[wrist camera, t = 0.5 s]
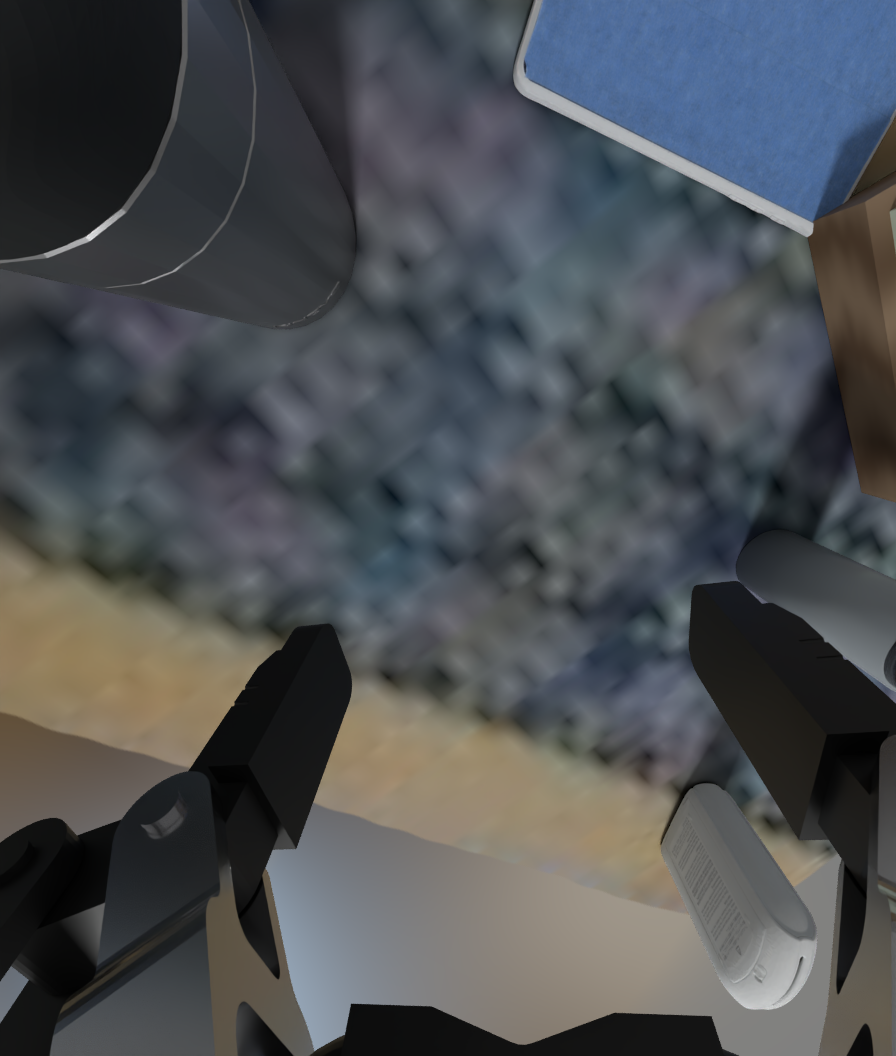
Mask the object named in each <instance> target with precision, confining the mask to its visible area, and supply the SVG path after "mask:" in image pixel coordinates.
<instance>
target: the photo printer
mask: <svg viewBox="0 0 896 1056" xmlns="http://www.w3.org/2000/svg"><path fill="white" fill-rule="evenodd" d="M661 853H662V856H663V859H664V861H665V863H666V865H667V867H668V870H669V872H670V874H671V876H672V878H673V880H674V882H675V884H676V887H677V889H678V891H679V893H680V895H681V897H682V900H683V902H684V904H685V906H686V908H687V910H688V913H689V915H690V917H691V919H692V921H693V923H694V925H695V928H696V930H697V932H698V934H699V936H700V938H701V941H702V943H703V945H704V947H705V949H706V951H707V953H708V956H709V958H710V960H711V962H712V964H713V966H714V969H715V971H716V973H717V975H718V977H719V978H720V981H721V982H722V984H723V985H724V987H725V988H726V989H727V991H728V992H729V993H730V994H731V995H732V997H733V998H734V999H735V1000H736V1001H737V1002H739V1003H740V1004H741V1005H742V1006H744V1007H746V1008H748V1009H774V1008H778V1007H781V1006H783V1005H785V1004H786V1003H788V1002H789V1001H790V1000H792V998H794V996H796V994H797V993H798V992H799V991H800V989H801V988H802V986H803V985H804V983H805V982H806V980H807V978H808V976H809V973H810V971H811V968H812V965H813V962H814V959H815V954H816V948H817V928H816V925H815V922H814V920H813V917H812V915H811V913H810V912H809V910H808V908H807V907H806V905H805V904H804V903H803V901H802V900H801V898H800V897H799V895H798V894H797V892H796V891H795V889H794V888H793V886H792V885H791V883H790V882H789V880H788V879H787V878H786V876H785V875H784V873H783V872H782V870H781V869H780V867H779V866H778V864H777V863H776V861H775V860H774V858H773V857H772V855H771V854H770V853H769V851H768V850H767V848H766V847H765V845H764V844H763V842H762V841H761V839H760V838H759V836H758V835H757V833H756V832H755V831H754V829H753V828H752V826H751V825H750V823H749V822H748V820H747V819H746V817H745V816H744V814H743V813H742V812H741V810H740V809H739V807H738V806H737V804H736V803H735V802H734V800H733V799H732V797H731V796H730V795H729V794H728V792H727V791H725V790H722V789H721V788H720V787H719V786H717V785H715V784H710V783H703V784H698V785H695V786H694V787H693V788H691V789H690V790H689V791H688V792H687V794H686V795H685V797H684V799H683V800H682V802H681V804H680V806H679V808H678V810H677V812H676V814H675V816H674V818H673V820H672V822H671V825H670V827H669V829H668V831H667V833H666V835H665V837H664V839H663V842H662V845H661Z"/></svg>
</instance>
